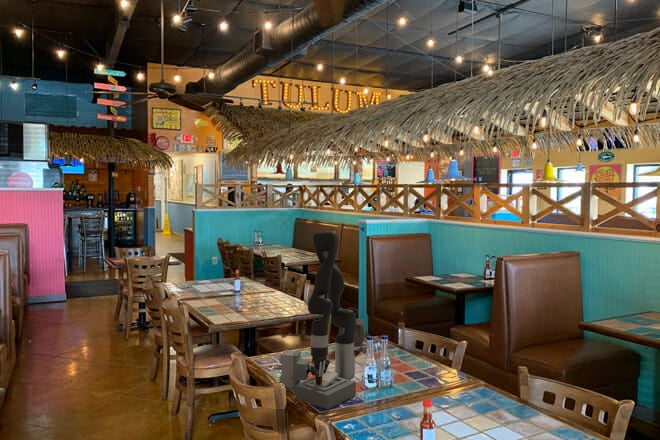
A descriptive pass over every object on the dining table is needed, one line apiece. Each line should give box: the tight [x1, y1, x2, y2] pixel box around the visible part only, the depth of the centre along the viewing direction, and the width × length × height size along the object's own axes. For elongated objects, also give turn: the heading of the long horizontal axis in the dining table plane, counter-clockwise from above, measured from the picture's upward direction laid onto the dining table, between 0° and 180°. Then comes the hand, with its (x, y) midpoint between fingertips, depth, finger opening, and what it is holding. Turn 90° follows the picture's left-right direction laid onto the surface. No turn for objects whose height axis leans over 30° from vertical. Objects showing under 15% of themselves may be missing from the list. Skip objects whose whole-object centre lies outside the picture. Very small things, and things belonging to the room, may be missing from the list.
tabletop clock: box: [338, 307, 366, 351], centre depth 290 cm, size 14×9×25 cm, turn 79°
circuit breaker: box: [279, 349, 311, 389], centre depth 236 cm, size 8×14×15 cm, turn 78°
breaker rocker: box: [314, 370, 338, 388], centre depth 222 cm, size 10×6×1 cm, turn 142°
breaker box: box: [295, 376, 357, 410], centre depth 222 cm, size 20×18×7 cm
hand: (318, 384), depth 218 cm, fingers closed
